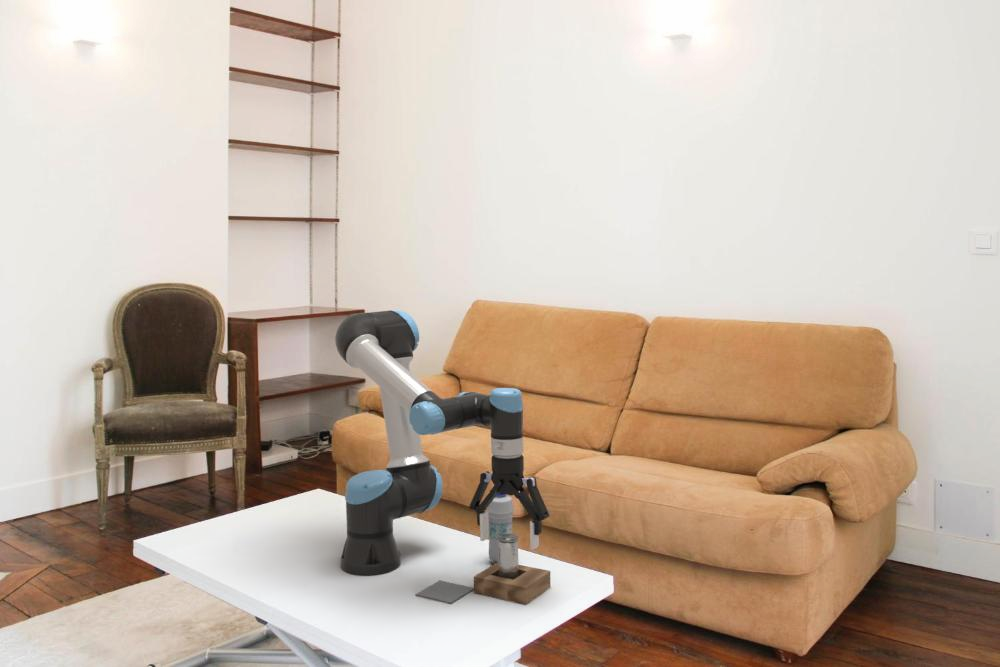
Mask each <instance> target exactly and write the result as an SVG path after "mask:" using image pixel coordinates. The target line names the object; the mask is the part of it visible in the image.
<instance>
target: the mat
mask: <svg viewBox="0 0 1000 667" xmlns="http://www.w3.org/2000/svg"><path fill="white" fill-rule="evenodd" d="M471 592H474V586H467V585H464V584H460V583H459V584H458V583H454V582H449V581H446V580H445V581H444V580H437V581H435V582H434V583H432V584H431V585H429V586H427V587H426V588H423V589H422V590H420V591H419V592H417V593H415V596H416V597H419V598H423V599H427V600H431V601H436V602H441V603H446V604H449V605H452V604H454V603H456V602H457V601H459V600H460V599H462V598H464V597H465V596H466V595H468V594H470V593H471Z"/></svg>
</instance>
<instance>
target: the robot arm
mask: <svg viewBox="0 0 1000 667" xmlns="http://www.w3.org/2000/svg"><path fill="white" fill-rule="evenodd" d="M336 329H337V330H336V332H335V336H334V337H335V338H334V340H335V341H334V343H335V346H336V351H337V352H338V354H339V356H340V357H341V358H342V360H343V361H345V363H346V364H348V365H349V366H350V367H352V368H353V369H359V370H360V371H361V372H363V373H364V374H365V375H366V376H367V377H368V378H369V379H370V380H372V381H373V382H374V383H375V384H376V385H377V386H378V387H379V393H380V399H381V405H382V413H383V419H384V425H385V426H384V427H385V431H386V438H387V443H388V450H389V457H390V458H389V461H388V463H387V464H386V466H385V469H373V470H367V471H366V470H365V471H362V472H359V473H357V474H354V475H353V476H351V477H349V479H348V481H347V483H346V485H345V495H344V496H345V497H344V499H345V512H346V533H347V534H346V539H345V542H344V546H343V550H342V554H341V557H340V568H341V569H342V570H343V571H344V572H346V573H348V574H353V575H358V576H360V575H361V576H371V575H373V576H374V575H380V574H384V573H389V572H392V571H394V570H396V569H398V568H399V567H400V565H401V559H402V558H401V553H400V551H399V547H398V544H397V542H396V539H395V535H394V527H393V526H394V520H398V519H401V518H404V517H405V518H406V517H407V516H411V515H416V514H423V513H425V512H426V511H430V510H431V509H433V508H435V507H436V506H437V505H438V503H439V502H440V500H441V498H442V496H443V488H444V487H443V486H444V485H443V479H442V476H441V473H440V472H439V470H438V468H437V467H435V466H434V465H431V460H430V458H429V457H427V456H426V455H424V453H423V447H422V441H421V436H426V435H437V434H440V433H441V434H442V433H444V432H449V431H453V430H459V429H464V428H469V427H474V426H481V427H487V428H490V444H491V445H490V448H491V449H490V450H491V454H492V456H491V471H492V473H491V472H490V471H488V470H486V471H484V472H482V473H480V476H479V483H478V485H477V488H476V489H475V492H474V494H473V497H472V499H471V502H470V504H469V508H468V509H470V510H473V511H475V512H476V524H477V526H478V527H479V536H480V537H479V538H480V539H479V540H480V541H481V542H484V541H487V540H488V539H489V517H488V511H487V509H488V506H489V504H490V503H491V502H492V501H493V499H494V498H495V497H496V496H497V494H498V493H500V494H507V496H510V497H511V496H514V498H516V499H518V501H519V502H520V504H521V505H522V507H523V508H524V509H525V511H526V513H527V514H528V515H529V517H530V518H531V521H529V540H530V541H529V542H530V543H529V545H530V547H529V548H530V550H535V549H537V548H539V546H540V545H539V544H540V542H539V540H540V539H539V538H540V537H539V535H541V534H542V532H543V530H542V529H543V528H542V522H543V521H544V520H546V519H548V518H549V517H550V513H549V510H548V509H547V506H546V504H545V501H544V499H543V498H542V497H543V496H542V495H541V492H540V490H539V488H538V486H537V485H538V484H537V478H536V476H532V477H525V476H524V469H525V462H524V461H525V460H524V458H525V457H524V456H523V454H524V451H525V450H524V424H523V423H524V421H523V420H524V417H523V416H524V415H523V414H524V403H523V394H522V391H521V390H519V389H518V388H515V387H498V388H492V390H490V392H489V393H490V394H484V393H481V392H480V393H479V392H475V391H463V392H460V393H459V394H457V395H456V396H454V397H453V396H452V397H446V398H442V397H440V396H439V395H438V394H437V393H435V392H434V391H433V390H432V389H430V388H429V387H428V386H427V385H426V384H424V383H423V382H422V381H421V380H420V379H419V378H418V377H417V376H415V375H414V374H413V373H412V372H411V370H410V364H411V362H412V361H413V359H414V353H413V352H414V351H415V350H417V348H418V346H419V342H420V330H419V327H418V324H417V322H416V321H415V320H414V318H413V317H412V316H411V315H410V314H408V313H407V312H406V311H404V310H392V309H391V310H381V311H372V312H359V313H357V312H356V313H354V314H350V315H349V316H347V317H346V318H344V319H343V320H342V321H341V322H340V323H339V325H338V327H337V328H336ZM490 482H492V483H493V486H492V488H490V490H489V493H487V494H486V496H485V497H484V495H485V493H486V491H487V488H488V486H489V483H490ZM524 487H525V488H526V489H527V490H526V489H525V488H524ZM527 492H528V493H527ZM528 494H529V495H528ZM483 497H484V499H483ZM482 499H483V500H482Z"/></svg>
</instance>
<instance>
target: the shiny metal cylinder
mask: <svg viewBox="0 0 1000 667" xmlns="http://www.w3.org/2000/svg"><path fill="white" fill-rule="evenodd" d="M498 543H499V577H502V578H507V579H512V580H514V579H516V578H517V577H518V565H519V536H518V535H517V534H513V533H512V534H502V535H500V536H499V537H498Z"/></svg>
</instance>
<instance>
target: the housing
mask: <svg viewBox="0 0 1000 667" xmlns="http://www.w3.org/2000/svg"><path fill="white" fill-rule="evenodd" d="M473 588H474V590H473V594H477V595H481V596H484V597H485V596H486V597H490V598H493V599H499V600H502V601H507V602H512V603H517V604H521V605H525V606H526V605H528V604H529V603H530V602H532V601H533V600H535V599H536V598H538V597H539V596H540V595H542V594H543V593H544V592H546V591H547V590H549V589H550V588H551V570H547V569H542V568H538V567H532V566H526V565H522V564H518V577H517V578H516V579H514V580H512V579H507V578H502V577H499V562H497V561H496V563H495V564H491V565H490V566H489V567H487V568H486V569H484V570H482V571H480V572H479V573H477V574H476V575H474V576H473ZM548 588H549V589H548ZM545 590H546V591H545Z"/></svg>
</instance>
